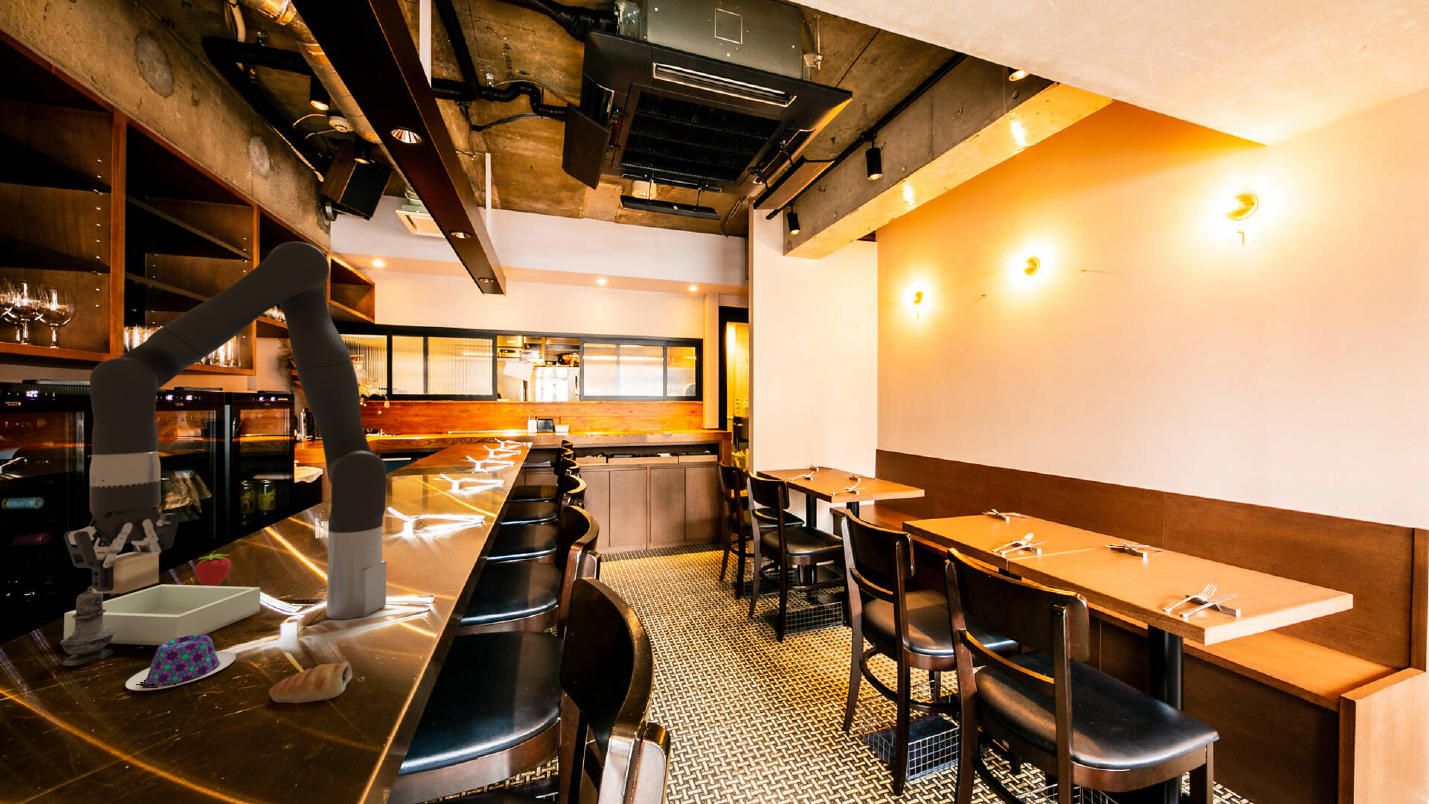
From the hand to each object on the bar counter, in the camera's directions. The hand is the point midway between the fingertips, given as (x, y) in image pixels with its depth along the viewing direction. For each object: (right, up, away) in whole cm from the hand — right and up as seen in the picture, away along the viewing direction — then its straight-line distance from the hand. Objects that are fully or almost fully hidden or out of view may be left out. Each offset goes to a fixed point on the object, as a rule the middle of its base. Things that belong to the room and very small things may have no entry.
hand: (126, 584), depth 82 cm
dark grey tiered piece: (-9, -13, +2) cm, 16 cm away
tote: (-9, -13, +15) cm, 22 cm away
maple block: (0, -1, 0) cm, 1 cm away
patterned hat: (+12, -14, -2) cm, 18 cm away
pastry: (+37, -14, -8) cm, 40 cm away
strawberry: (-19, -14, +33) cm, 41 cm away
